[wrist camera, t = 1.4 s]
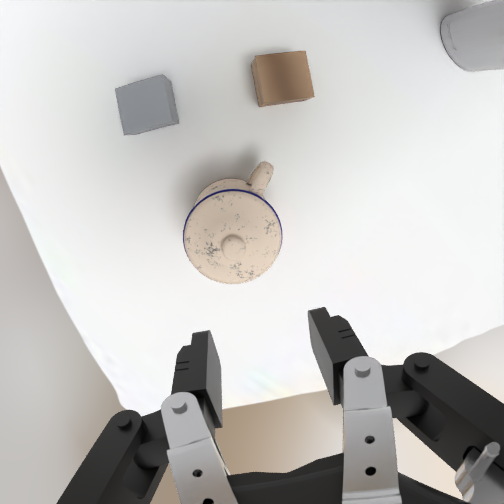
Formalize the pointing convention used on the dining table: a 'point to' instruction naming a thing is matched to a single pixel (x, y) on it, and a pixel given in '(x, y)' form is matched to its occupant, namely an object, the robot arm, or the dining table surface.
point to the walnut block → (282, 78)
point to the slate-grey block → (146, 105)
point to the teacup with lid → (234, 229)
